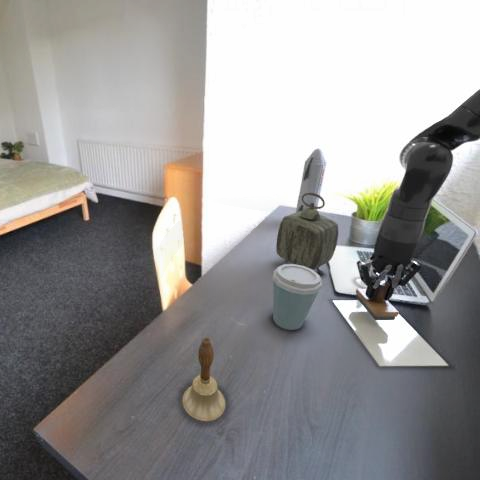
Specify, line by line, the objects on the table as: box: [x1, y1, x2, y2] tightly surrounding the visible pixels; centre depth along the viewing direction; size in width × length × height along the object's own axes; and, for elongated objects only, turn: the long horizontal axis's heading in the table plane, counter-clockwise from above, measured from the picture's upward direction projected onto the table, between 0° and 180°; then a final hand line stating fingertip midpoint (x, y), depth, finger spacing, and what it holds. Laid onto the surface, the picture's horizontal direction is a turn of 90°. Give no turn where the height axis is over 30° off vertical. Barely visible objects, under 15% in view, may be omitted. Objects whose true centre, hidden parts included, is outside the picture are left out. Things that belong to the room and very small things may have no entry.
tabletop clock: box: [275, 193, 339, 276], centre depth 97 cm, size 14×9×25 cm, turn 34°
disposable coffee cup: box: [272, 263, 323, 331], centre depth 78 cm, size 11×11×15 cm
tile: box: [331, 299, 450, 368], centre depth 78 cm, size 14×22×1 cm, turn 179°
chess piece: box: [355, 255, 373, 289], centre depth 93 cm, size 5×5×10 cm
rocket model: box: [295, 148, 327, 213], centre depth 126 cm, size 14×7×30 cm, turn 125°
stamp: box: [355, 279, 400, 320], centre depth 80 cm, size 9×5×8 cm, turn 179°
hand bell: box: [182, 337, 226, 422], centre depth 59 cm, size 8×8×16 cm
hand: (377, 298), depth 80 cm, fingers closed on stamp, 3 cm apart
